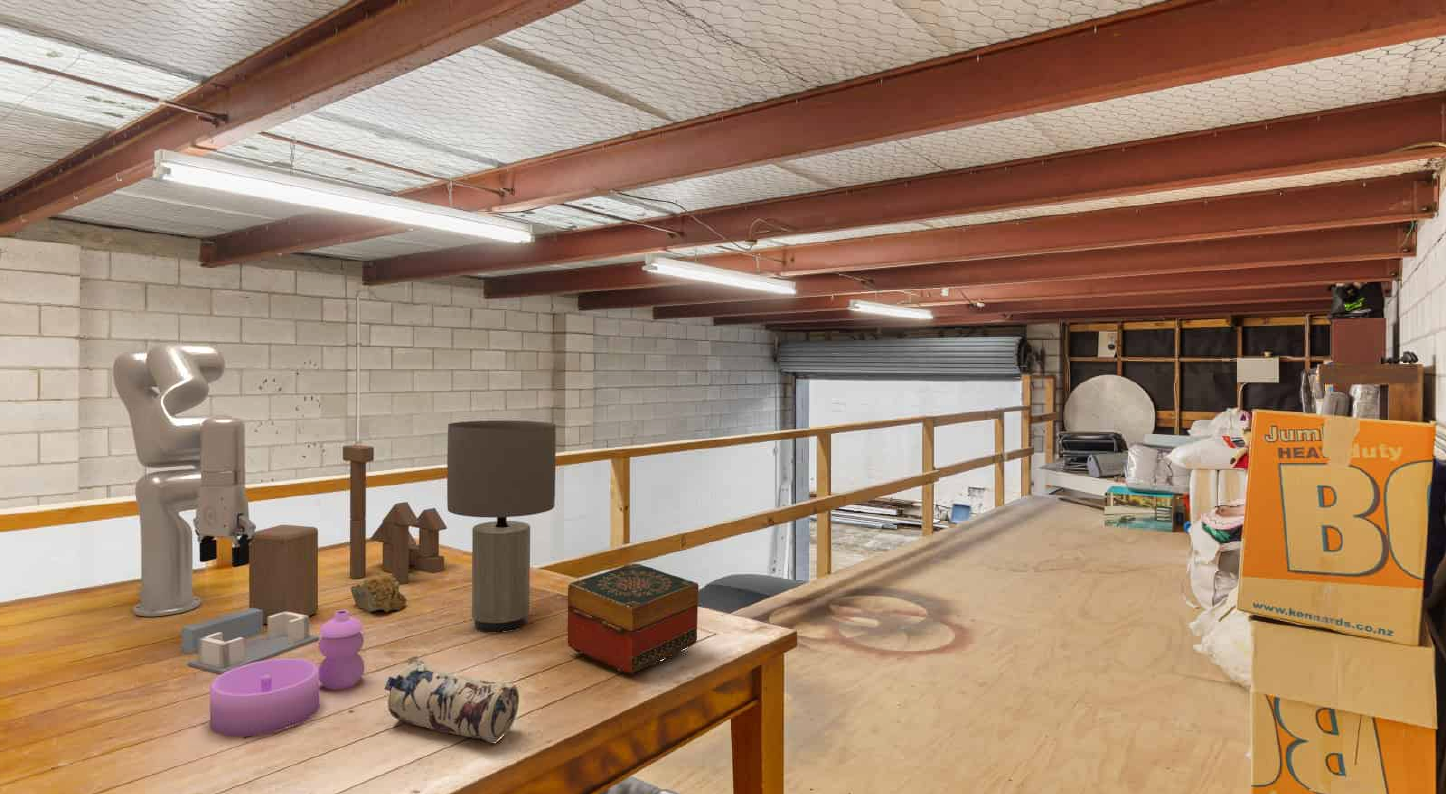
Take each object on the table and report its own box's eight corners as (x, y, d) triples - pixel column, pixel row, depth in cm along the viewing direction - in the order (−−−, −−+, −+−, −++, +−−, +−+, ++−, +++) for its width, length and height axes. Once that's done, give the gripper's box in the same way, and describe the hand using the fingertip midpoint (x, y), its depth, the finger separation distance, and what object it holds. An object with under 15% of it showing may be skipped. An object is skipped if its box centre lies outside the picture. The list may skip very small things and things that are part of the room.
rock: (361, 628, 179) (343, 590, 180) (394, 612, 186) (377, 575, 187) (383, 617, 173) (365, 577, 173) (417, 600, 180) (399, 562, 180)
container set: (248, 746, 115) (247, 659, 115) (189, 722, 122) (189, 640, 122) (388, 685, 138) (388, 613, 137) (332, 668, 145) (332, 599, 144)
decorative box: (642, 634, 169) (635, 559, 169) (710, 653, 153) (704, 570, 153) (562, 662, 155) (555, 581, 154) (629, 687, 139) (621, 596, 139)
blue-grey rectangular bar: (192, 655, 150) (192, 630, 149) (182, 652, 151) (181, 627, 151) (262, 633, 162) (262, 610, 162) (252, 630, 164) (252, 607, 164)
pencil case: (380, 727, 122) (380, 666, 122) (420, 705, 130) (420, 649, 130) (492, 756, 114) (493, 691, 114) (527, 731, 122) (528, 670, 121)
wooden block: (286, 627, 165) (286, 535, 165) (247, 623, 167) (246, 532, 167) (320, 613, 175) (320, 526, 174) (281, 609, 177) (281, 523, 176)
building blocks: (398, 590, 194) (398, 452, 192) (336, 575, 206) (336, 445, 204) (458, 573, 211) (459, 445, 209) (397, 560, 223) (398, 439, 221)
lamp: (438, 645, 157) (439, 428, 155) (453, 610, 179) (455, 420, 177) (552, 639, 162) (555, 429, 160) (553, 606, 184) (556, 420, 182)
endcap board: (187, 665, 144) (187, 639, 144) (284, 632, 163) (284, 608, 162) (223, 674, 140) (223, 647, 140) (318, 639, 159) (318, 615, 159)
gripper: (176, 478, 155) (177, 562, 156) (234, 484, 148) (235, 572, 149) (213, 474, 162) (214, 554, 163) (270, 479, 155) (271, 563, 156)
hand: (224, 562), depth 156 cm, fingers open, 9 cm apart
